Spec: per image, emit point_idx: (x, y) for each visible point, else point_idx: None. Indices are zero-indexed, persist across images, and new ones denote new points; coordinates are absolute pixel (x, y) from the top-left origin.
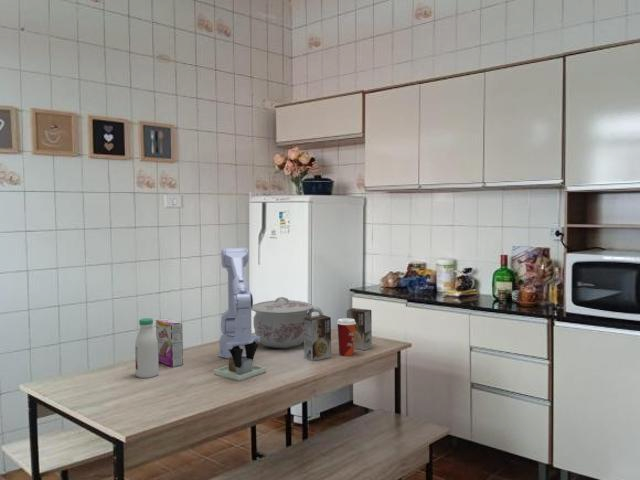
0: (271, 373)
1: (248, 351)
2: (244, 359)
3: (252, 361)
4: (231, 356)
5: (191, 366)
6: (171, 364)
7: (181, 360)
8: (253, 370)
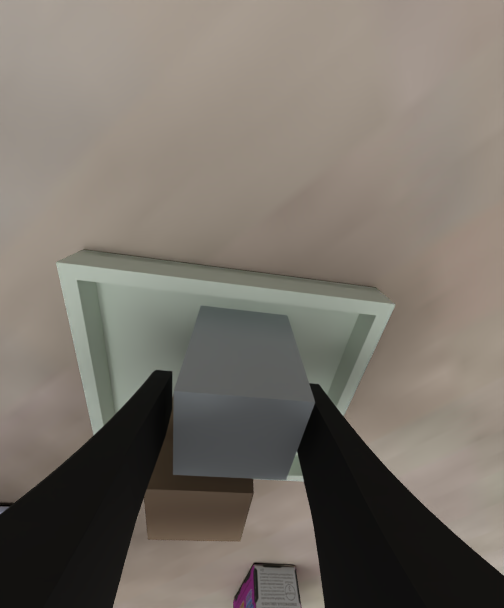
0: (63, 186)
1: (117, 543)
2: (226, 444)
3: (147, 384)
4: (212, 539)
5: (252, 544)
6: (296, 580)
7: (262, 589)
8: (138, 341)
